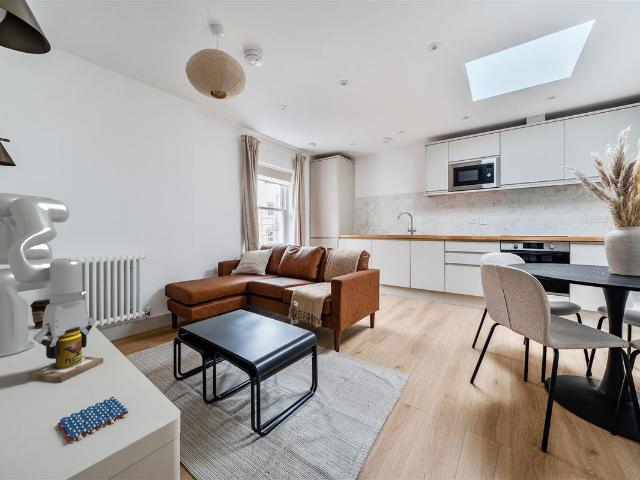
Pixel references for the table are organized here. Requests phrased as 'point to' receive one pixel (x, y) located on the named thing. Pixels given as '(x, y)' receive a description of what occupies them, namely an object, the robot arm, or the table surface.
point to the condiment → (68, 351)
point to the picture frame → (65, 370)
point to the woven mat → (91, 419)
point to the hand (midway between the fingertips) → (67, 352)
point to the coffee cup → (39, 311)
